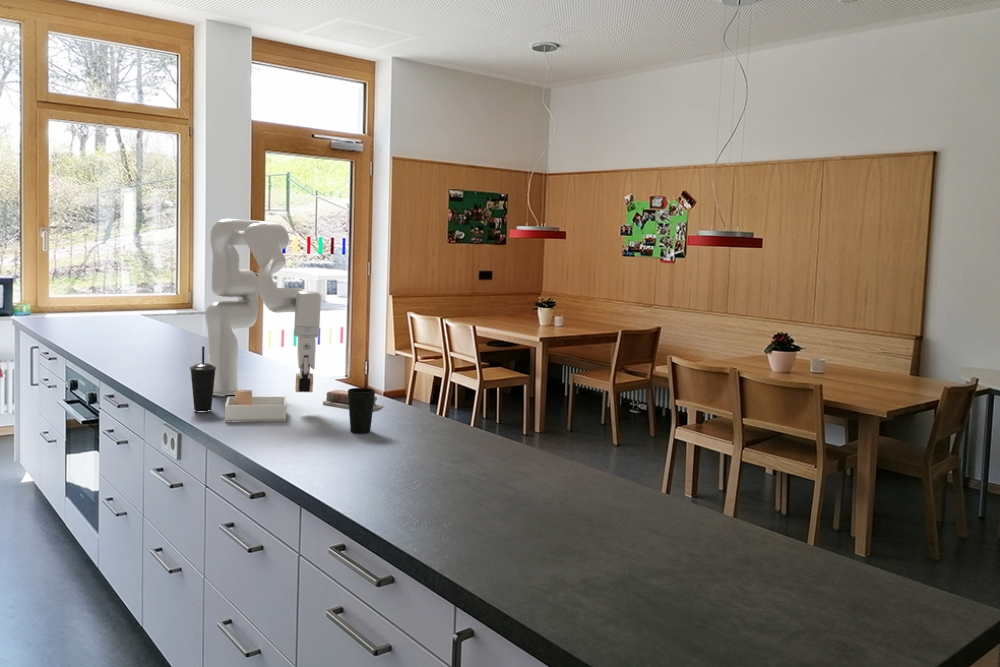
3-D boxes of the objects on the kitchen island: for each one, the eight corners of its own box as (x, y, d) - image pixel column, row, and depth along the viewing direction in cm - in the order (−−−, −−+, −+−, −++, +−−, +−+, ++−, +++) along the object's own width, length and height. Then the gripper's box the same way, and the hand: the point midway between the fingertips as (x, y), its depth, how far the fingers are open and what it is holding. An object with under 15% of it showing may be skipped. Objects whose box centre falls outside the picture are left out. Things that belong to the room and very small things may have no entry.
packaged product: (321, 391, 268) (340, 387, 277) (321, 406, 268) (340, 401, 277) (366, 398, 260) (384, 394, 269) (365, 413, 260) (384, 408, 269)
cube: (295, 388, 255) (296, 372, 254) (311, 389, 256) (312, 373, 256) (295, 392, 250) (296, 376, 249) (312, 392, 251) (313, 376, 251)
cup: (368, 435, 229) (369, 393, 227) (342, 433, 230) (343, 391, 229) (377, 429, 236) (379, 389, 235) (352, 427, 238) (353, 386, 236)
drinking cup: (198, 414, 245) (199, 348, 243) (184, 410, 249) (184, 346, 247) (221, 411, 251) (221, 347, 249) (206, 407, 255) (207, 344, 253)
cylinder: (251, 412, 248) (251, 389, 247) (253, 415, 243) (253, 392, 242) (234, 413, 246) (233, 390, 245) (236, 416, 241) (235, 393, 240)
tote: (227, 412, 249) (227, 396, 249) (285, 412, 254) (286, 396, 253) (224, 422, 237) (225, 405, 236) (286, 421, 241) (286, 405, 241)
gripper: (320, 336, 244) (317, 395, 246) (317, 328, 260) (315, 383, 262) (294, 335, 242) (291, 395, 244) (293, 326, 258) (291, 383, 260)
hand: (304, 388), depth 253 cm, fingers closed on cube, 5 cm apart
